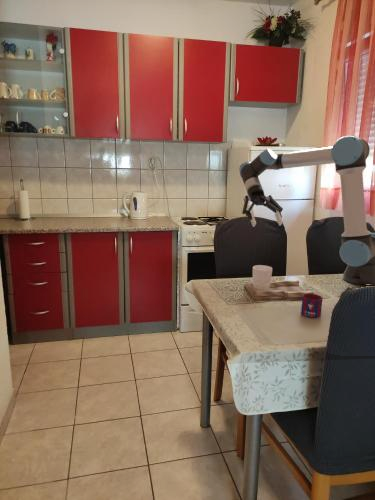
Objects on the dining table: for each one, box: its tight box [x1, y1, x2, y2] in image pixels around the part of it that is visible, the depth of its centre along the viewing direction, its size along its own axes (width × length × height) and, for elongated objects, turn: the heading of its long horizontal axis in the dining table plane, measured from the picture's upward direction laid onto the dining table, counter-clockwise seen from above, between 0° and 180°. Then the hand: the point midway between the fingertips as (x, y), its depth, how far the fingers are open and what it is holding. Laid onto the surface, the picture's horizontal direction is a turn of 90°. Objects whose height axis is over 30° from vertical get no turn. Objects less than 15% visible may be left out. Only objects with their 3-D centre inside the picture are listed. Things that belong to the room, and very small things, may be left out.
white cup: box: [252, 264, 273, 291], centre depth 150 cm, size 8×8×10 cm
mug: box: [300, 292, 323, 319], centre depth 130 cm, size 7×10×7 cm
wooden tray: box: [243, 279, 314, 301], centre depth 152 cm, size 24×17×3 cm
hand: (268, 224), depth 166 cm, fingers open, 13 cm apart
